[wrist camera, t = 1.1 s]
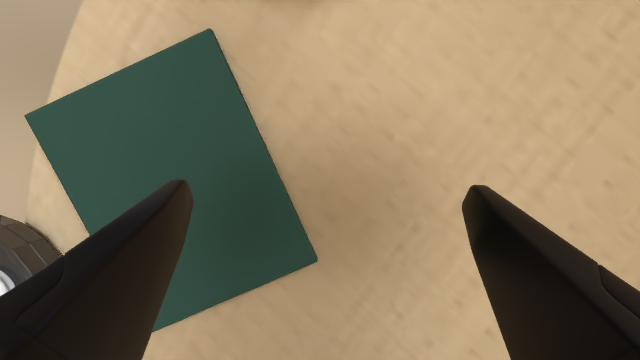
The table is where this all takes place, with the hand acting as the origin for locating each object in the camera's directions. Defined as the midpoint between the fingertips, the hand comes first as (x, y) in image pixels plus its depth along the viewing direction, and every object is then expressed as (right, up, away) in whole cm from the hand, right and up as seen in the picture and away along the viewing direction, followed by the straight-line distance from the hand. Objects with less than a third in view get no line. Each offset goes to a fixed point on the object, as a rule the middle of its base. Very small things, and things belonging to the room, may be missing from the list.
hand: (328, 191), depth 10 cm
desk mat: (-12, 0, +15) cm, 19 cm away
